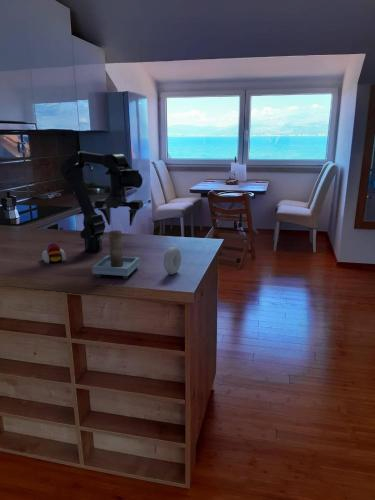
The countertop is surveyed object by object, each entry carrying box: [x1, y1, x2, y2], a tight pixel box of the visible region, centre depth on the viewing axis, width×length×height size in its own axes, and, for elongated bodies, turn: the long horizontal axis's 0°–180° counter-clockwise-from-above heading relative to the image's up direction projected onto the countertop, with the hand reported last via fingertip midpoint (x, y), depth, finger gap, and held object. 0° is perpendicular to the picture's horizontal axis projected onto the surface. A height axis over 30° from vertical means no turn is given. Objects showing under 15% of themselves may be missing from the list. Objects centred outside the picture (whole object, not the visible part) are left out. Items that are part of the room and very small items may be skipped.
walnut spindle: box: [108, 230, 124, 267], centre depth 138 cm, size 4×4×12 cm
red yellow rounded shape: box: [41, 242, 67, 264], centre depth 154 cm, size 8×10×7 cm
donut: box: [163, 246, 182, 275], centre depth 138 cm, size 10×3×10 cm, turn 156°
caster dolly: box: [91, 255, 141, 280], centre depth 140 cm, size 13×13×4 cm
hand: (120, 225), depth 157 cm, fingers open, 9 cm apart
